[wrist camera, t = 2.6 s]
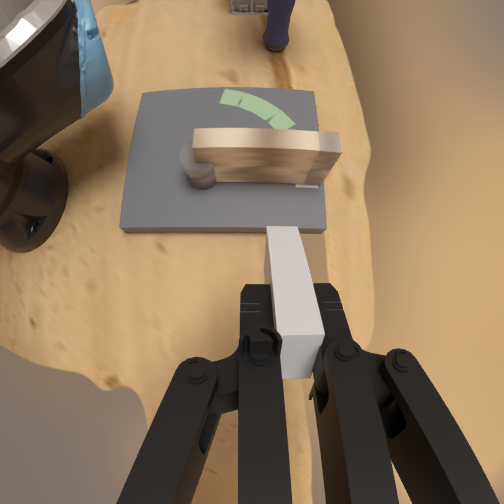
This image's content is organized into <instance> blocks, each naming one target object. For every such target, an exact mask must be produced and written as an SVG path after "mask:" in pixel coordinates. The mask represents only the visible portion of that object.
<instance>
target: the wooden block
mask: <svg viewBox="0 0 504 504" xmlns="http://www.w3.org/2000/svg"><path fill="white" fill-rule="evenodd" d="M341 154H342V148H341V141H340V134H339V133H335V132H325V131H318V132H317V131H304V130H289V129H267V128H197V129H194V135H193V139H191V140H189V141H187V142H186V143H185V144H184V145H183V146H182V148H181V150H180V153H179V158H180V161H181V164H182V166H183V168H184V171H185V173H186V175H187V178H188V180H189V182H190V184H191V185H192V186H194V187H196V188H198V189H207V188H210V187H212V186H213V185H215V184H216V182H257V183H292V184H303V185H321V184H322V182H323V181H324V179H325V178H326V176H327V175H328V173H329V172H330V170H331V169H332V167H333V166H334V164H335V163H336V161H337V160H338V158H339V157H340V155H341Z"/></svg>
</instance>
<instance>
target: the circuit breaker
mask: <svg viewBox="0 0 504 504" xmlns="http://www.w3.org/2000/svg"><path fill="white" fill-rule="evenodd" d="M230 9H231V11H233V12H231V15H268V5H267V0H230ZM237 10H239V12H235V11H237ZM264 11H267V13H266V12H264ZM261 12H263V13H261Z"/></svg>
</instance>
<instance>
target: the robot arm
mask: <svg viewBox="0 0 504 504" xmlns="http://www.w3.org/2000/svg"><path fill="white" fill-rule="evenodd" d="M113 87H114V82H113V77H112V73H111V70H110V66H109V63H108V59H107V56H106V53H105V49H104V46H103V43H102V39H101V36H100V34H99V29H98V26H97V22H96V18H95V14H94V11H93V8H92V5H91V1H90V0H74V2H73V3H72V1H71V0H0V244H1V245H2V246H4V247H5V248H7V249H10V250H14V251H18V252H26V251H30V250H33V249H35V248H36V247H38V246H39V245H41V244H42V243H43V242H44V241H45V240H46V239H47V238H48V237H49V236H50V234H51V233H52V232H53V230H54V229H55V227H56V225H57V224H58V222H59V220H60V218H61V215H62V213H63V210H64V207H65V203H66V199H67V192H68V179H67V173H66V170H65V167H64V165H63V164H62V162H61V161H60V160H59V159H58V158H57V157H56V156H55V155H53V154H52V153H51V152H49V151H48V150H45V149H42V148H38V147H39V146H40V145H41V144H43V143H44V142H45V141H47V140H48V139H50V138H51V137H53V136H54V135H55V134H57V133H58V132H60V131H61V130H63V129H64V128H66V127H67V126H69V125H71V124H72V123H74V122H75V121H77V120H78V119H82V118H83V117H84V116H85V115H86V113H88V112H89V111H91V110H92V109H94V108H95V107H97V106H98V105H100V104H101V103H103V102H105V101H106V100H107V99H108V97H109V96H110V94H111V93H112V90H113ZM264 278H265V284H246V285H245V286H244V288H243V290H242V291H241V296H240V338H239V346H238V348H237V350H236V351H235V352H234V353H233V354H232V355H231V356H229V357H227V358H225V359H222V360H218V361H214V362H211V361H210V360H207V359H205V358H201V357H193V358H189V359H186V360H185V361H183V362H182V363H181V364H180V365H179V366H178V368H177V369H176V371H175V374H174V376H173V378H172V380H171V382H170V384H169V387H168V389H167V391H166V393H165V395H164V397H163V400H162V402H161V404H160V406H159V408H158V411H157V413H156V415H155V417H154V419H153V422H152V424H151V426H150V428H149V431H148V433H147V435H146V437H145V440H144V442H143V444H142V446H141V448H140V451H139V453H138V455H137V458H136V460H135V462H134V465H133V467H132V469H131V471H130V474H129V476H128V478H127V481H126V483H125V485H124V488H123V490H122V492H121V495H120V497H119V499H118V501H117V504H191V501H192V499H193V496H194V493H195V490H196V487H197V484H198V481H199V479H200V476H201V473H202V470H203V467H204V464H205V461H206V458H207V455H208V452H209V449H210V446H211V444H212V441H213V438H214V435H215V432H216V429H217V426H218V423H219V420H220V417H221V414H223V413H227V412H230V411H234V410H237V409H238V504H292V492H291V478H290V465H289V452H288V439H287V427H286V415H285V403H284V392H283V381H282V379H302V378H311V375H312V372H313V376H314V384H313V386H312V389H311V392H310V394H309V400H312V397H313V400H314V407H315V414H316V421H317V429H318V436H319V445H320V452H321V461H322V470H323V479H324V488H325V497H326V504H399V501H398V496H397V490H396V484H395V479H394V474H393V469H392V464H391V461H392V463H393V465H394V467H395V469H396V471H397V473H398V475H399V477H400V479H401V481H402V483H403V485H404V487H405V489H406V491H407V493H408V496H409V498H410V500H411V502H412V504H500V503H499V501H498V499H497V497H496V495H495V493H494V491H493V489H492V487H491V485H490V483H489V481H488V479H487V477H486V475H485V473H484V471H483V469H482V467H481V465H480V463H479V461H478V460H477V458H476V456H475V454H474V452H473V450H472V449H471V447H470V445H469V443H468V442H467V440H466V438H465V436H464V434H463V433H462V431H461V429H460V428H459V426H458V424H457V423H456V421H455V419H454V417H453V416H452V415H451V413H450V411H449V409H448V408H447V406H446V405H445V403H444V401H443V400H442V398H441V396H440V395H439V393H438V392H437V390H436V388H435V387H434V385H433V384H432V382H431V381H430V379H429V378H428V376H427V375H426V373H425V372H424V370H423V369H422V367H421V365H420V364H419V362H418V361H417V359H416V358H415V357H414V356H413V355H412V354H411V353H410V352H408V351H407V350H405V349H399V348H398V349H393V350H391V351H390V352H388V353H387V355H386V356H385V355H379V354H374V353H370V352H366V351H364V350H362V349H361V347H360V345H359V344H357V343H356V342H355V341H353V338H352V336H351V332H350V329H349V326H348V323H347V319H346V316H345V313H344V310H343V307H342V303H341V300H340V297H339V294H338V291H337V290H336V289H335V288H334V287H333V286H332V285H331V284H330V283H312V279H311V275H310V271H309V267H308V263H307V259H306V256H305V252H304V248H303V245H302V241H301V237H300V234H299V230H298V227H296V226H267V227H266V245H265V262H264Z"/></svg>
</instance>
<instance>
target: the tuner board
mask: <svg viewBox="0 0 504 504" xmlns="http://www.w3.org/2000/svg"><path fill="white" fill-rule="evenodd" d="M197 128H267V129H289V130H304V131H317V132H318V131H319V128H318V120H317V112H316V104H315V97H314V91H304V90H292V89H276V88H249V87H221V88H193V89H178V90H165V91H155V92H146V93H142V97H141V101H140V105H139V110H138V114H137V118H136V123H135V128H134V133H133V138H132V143H131V148H130V154H129V159H128V165H127V171H126V178H125V185H124V192H123V200H122V208H121V217H120V227H119V228H121V229H122V230H124V231H126V232H244V233H266V227H267V226H296V227H298V230H299V233H310V234H311V233H312V234H321V233H322V232H323V231H325V230H326V229H327V226H326V209H325V193H324V181H323V182H322V184H321V185H303V184H292V183H257V182H216V184H215V185H213V186H212V187H210V188H207V189H198V188H196V187H194V186H192V185H191V184H190V182H189V180H188V178H187V175H186V173H185V171H184V168H183V166H182V164H181V161H180V158H179V153H180V150H181V148H182V146H183V145H184V144H185V143H186V142H187V141H189V140H191V139H193V135H194V129H197Z"/></svg>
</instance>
